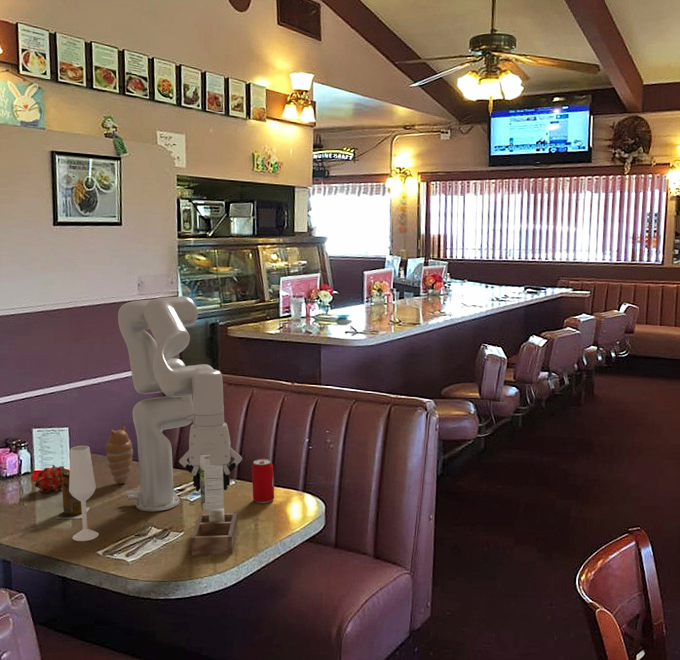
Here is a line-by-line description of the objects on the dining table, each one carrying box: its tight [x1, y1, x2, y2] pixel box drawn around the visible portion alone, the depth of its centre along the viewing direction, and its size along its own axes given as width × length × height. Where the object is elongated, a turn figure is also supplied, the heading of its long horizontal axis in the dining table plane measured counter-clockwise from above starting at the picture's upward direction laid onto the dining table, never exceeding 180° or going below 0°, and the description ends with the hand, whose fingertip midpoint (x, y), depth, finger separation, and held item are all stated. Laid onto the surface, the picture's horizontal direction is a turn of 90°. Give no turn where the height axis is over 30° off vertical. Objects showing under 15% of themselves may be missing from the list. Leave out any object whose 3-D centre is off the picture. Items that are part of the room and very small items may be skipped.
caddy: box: [190, 507, 239, 556], centre depth 203 cm, size 10×16×7 cm, turn 3°
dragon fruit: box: [34, 464, 69, 494], centre depth 245 cm, size 8×8×12 cm
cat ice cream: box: [104, 426, 134, 485], centre depth 249 cm, size 9×8×18 cm
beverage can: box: [251, 458, 275, 504], centre depth 232 cm, size 6×6×12 cm
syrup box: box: [199, 454, 225, 511], centre depth 198 cm, size 6×6×14 cm
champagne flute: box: [69, 445, 99, 542], centre depth 207 cm, size 7×7×24 cm
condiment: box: [56, 469, 91, 520], centre depth 225 cm, size 7×8×12 cm
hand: (212, 488), depth 199 cm, fingers closed on syrup box, 6 cm apart
